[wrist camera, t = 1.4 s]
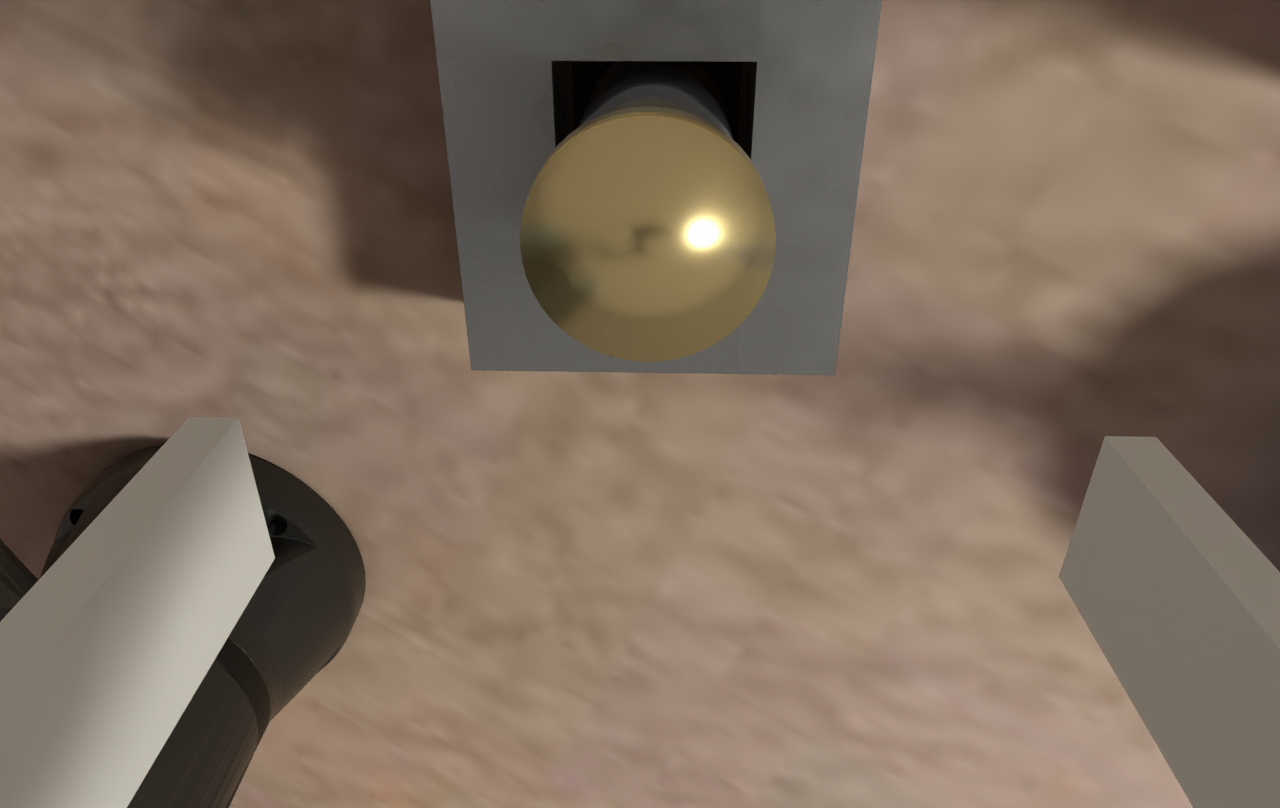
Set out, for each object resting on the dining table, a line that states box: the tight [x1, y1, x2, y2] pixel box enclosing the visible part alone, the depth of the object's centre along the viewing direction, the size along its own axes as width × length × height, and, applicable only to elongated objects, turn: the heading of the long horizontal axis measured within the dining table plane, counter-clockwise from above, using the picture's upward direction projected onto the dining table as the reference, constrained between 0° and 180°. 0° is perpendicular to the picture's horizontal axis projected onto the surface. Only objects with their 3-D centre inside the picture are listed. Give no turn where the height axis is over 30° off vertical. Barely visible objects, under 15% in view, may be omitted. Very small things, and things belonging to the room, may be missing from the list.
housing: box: [430, 0, 882, 375], centre depth 32 cm, size 14×16×6 cm
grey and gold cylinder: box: [520, 61, 776, 362], centre depth 29 cm, size 7×7×14 cm
